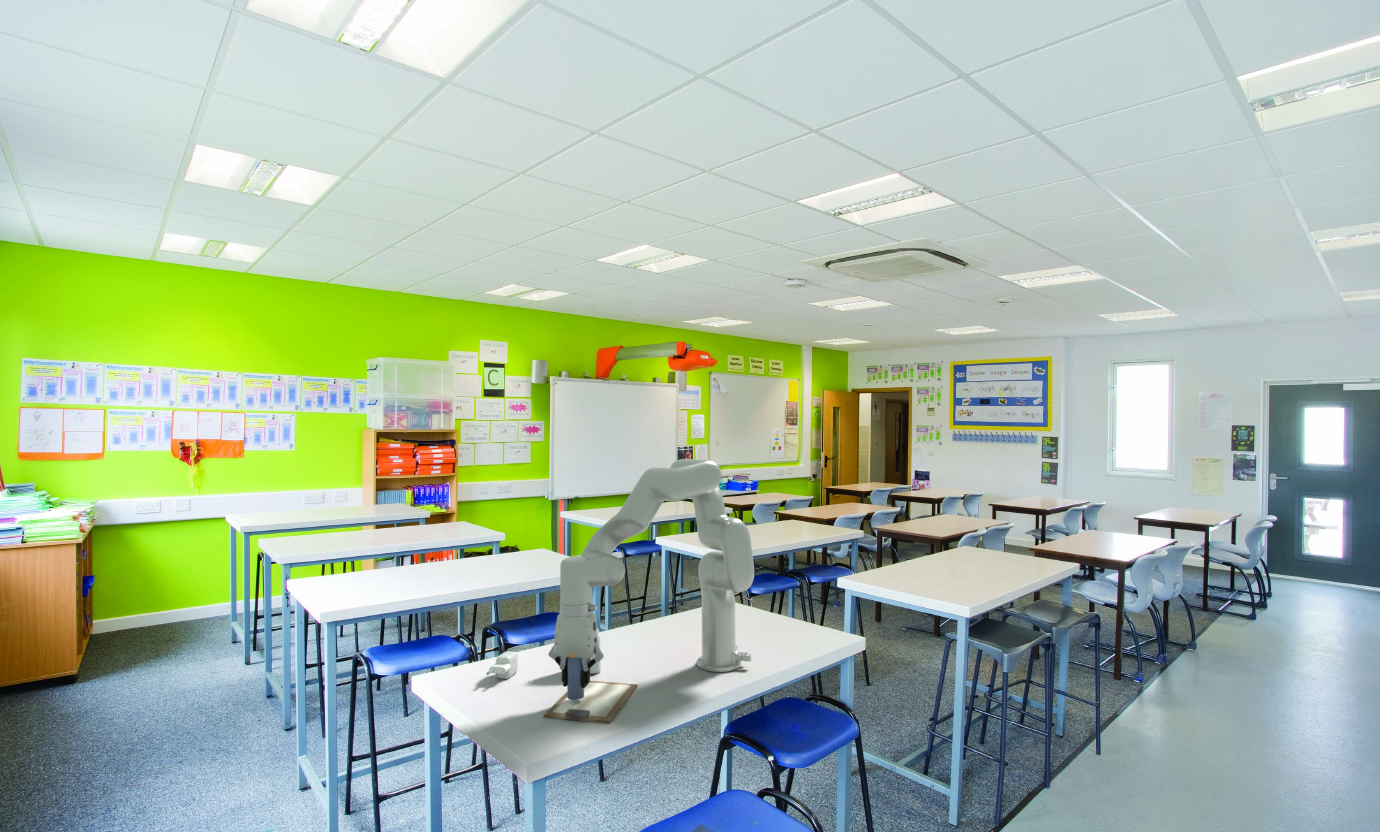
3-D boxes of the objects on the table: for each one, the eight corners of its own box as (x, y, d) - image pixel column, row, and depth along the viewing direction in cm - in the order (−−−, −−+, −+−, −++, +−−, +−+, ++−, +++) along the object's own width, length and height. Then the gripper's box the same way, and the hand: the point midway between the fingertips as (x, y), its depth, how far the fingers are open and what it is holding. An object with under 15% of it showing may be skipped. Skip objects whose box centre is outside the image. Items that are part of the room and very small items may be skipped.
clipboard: (637, 686, 169) (637, 680, 169) (609, 723, 147) (609, 716, 147) (579, 681, 172) (579, 675, 172) (542, 718, 150) (542, 710, 150)
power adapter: (500, 687, 169) (500, 664, 169) (483, 686, 170) (483, 663, 170) (520, 672, 180) (520, 650, 180) (503, 671, 181) (503, 649, 181)
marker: (587, 693, 160) (587, 644, 160) (580, 700, 156) (580, 649, 156) (570, 692, 161) (571, 643, 161) (564, 699, 156) (564, 648, 157)
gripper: (613, 606, 161) (613, 682, 160) (550, 603, 164) (550, 677, 164) (603, 614, 153) (603, 693, 153) (537, 611, 157) (537, 688, 156)
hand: (575, 684), depth 158 cm, fingers closed on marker, 4 cm apart
